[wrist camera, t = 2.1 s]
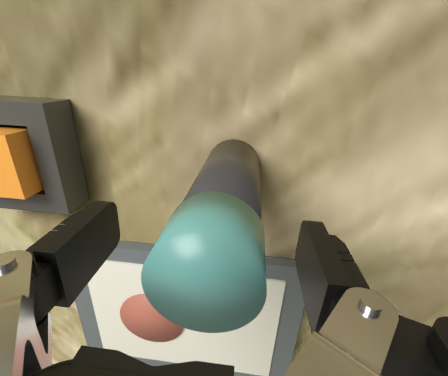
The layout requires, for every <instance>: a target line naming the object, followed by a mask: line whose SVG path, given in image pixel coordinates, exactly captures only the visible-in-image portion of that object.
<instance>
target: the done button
mask: <svg viewBox="0 0 448 376" xmlns="http://www.w3.org/2000/svg"><path fill="white" fill-rule="evenodd" d="M43 189H44V188H43V184H42V181H41V177H40V173H39V170H38V166H37V162H36V159H35V155H34V152H33V148H32V144H31V141H30V137H29V134H28V130H27V128H13V127H0V197H3V198H14V199H24V200H25V199H27V198H29V197H31V196H32V195H34V194H36V193H38V192H40V191H41V190H43Z"/></svg>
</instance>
